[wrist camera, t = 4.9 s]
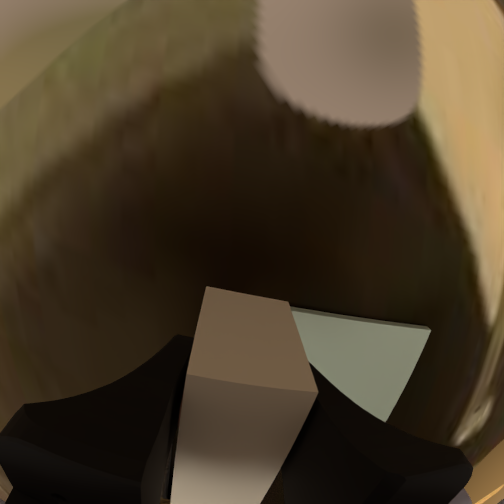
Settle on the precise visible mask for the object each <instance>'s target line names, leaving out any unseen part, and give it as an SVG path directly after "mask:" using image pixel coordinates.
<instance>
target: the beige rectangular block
mask: <svg viewBox="0 0 504 504" xmlns="http://www.w3.org/2000/svg"><path fill="white" fill-rule="evenodd" d="M317 394H318V389H317V386H316V383H315V380H314V377H313V374H312V371H311V368H310V365H309V362H308V359H307V356H306V353H305V350H304V347H303V344H302V341H301V338H300V335H299V332H298V329H297V326H296V323H295V320H294V317H293V314H292V311H291V308H290V305H289V303H288V302H287V301H281V300H276V299H270V298H265V297H259V296H254V295H249V294H244V293H238V292H233V291H228V290H223V289H218V288H213V287H208V286H206V290H205V294H204V298H203V302H202V307H201V311H200V315H199V320H198V324H197V328H196V333H195V337H194V342H193V346H192V351H191V355H190V360H189V365H188V369H187V374H186V381H185V386H184V391H183V395H182V400H181V405H180V412H179V420H178V427H179V431H178V439H177V447H176V456H175V464H174V473H173V482H172V492H171V502H170V504H260V503H261V501H262V499H263V498H264V496H265V494H266V493H267V491H268V489H269V487H270V486H271V484H272V482H273V481H274V479H275V477H276V475H277V473H278V472H279V470H280V468H281V466H282V464H283V463H284V461H285V459H286V457H287V455H288V453H289V451H290V450H291V448H292V446H293V444H294V442H295V440H296V438H297V436H298V434H299V432H300V430H301V428H302V426H303V424H304V422H305V420H306V418H307V416H308V414H309V412H310V409H311V407H312V405H313V403H314V401H315V399H316V397H317Z"/></svg>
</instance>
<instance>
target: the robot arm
mask: <svg viewBox="0 0 504 504" xmlns="http://www.w3.org/2000/svg"><path fill="white" fill-rule="evenodd" d="M193 342H194V338H192V337H187V336H182V335H176V336H174V337H173V338H172V339H171V340H170V341H169V342H168V343H167V344H166V345H165V346H164V347H163V348H162V349H161V350H160V351H159V352H158V353H156V354H155V355H154V356H153V357H152V358H150V359H149V360H148V361H147V362H145V363H144V364H142V365H141V366H139V367H138V368H137V369H135V370H134V371H132V372H131V373H129V374H127V375H126V376H124V377H122V378H120V379H118V380H117V381H115V382H113V383H111V384H108V385H106V386H103V387H101V388H98V389H96V390H93V391H90V392H87V393H84V394H81V395H77V396H73V397H69V398H65V399H60V400H55V401H47V402H39V403H30V404H24V405H23V406H22V407H21V408H20V409H19V410H18V411H17V412H16V413H15V414H14V416H13V417H12V418H11V419H10V421H9V422H8V423H7V425H6V426H5V428H4V429H3V430H2V432H1V433H0V464H1V466H2V468H3V470H4V472H5V474H6V475H7V477H8V479H9V481H10V483H11V484H12V486H13V489H12V491H11V493H10V495H9V497H8V498H7V500H6V502H5V501H3V500H1V499H0V504H160V499H161V493H162V487H163V481H164V475H165V469H166V464H167V460H168V456H169V453H170V449H171V446H172V443H173V440H174V436H175V433H176V430H177V427H178V420H179V412H180V405H181V400H182V395H183V391H184V386H185V381H186V374H187V369H188V365H189V360H190V355H191V351H192V346H193ZM308 362H309V361H308ZM309 365H310V368H311V371H312V374H313V377H314V380H315V383H316V386H317V389H318V394H317V397H316V399H315V401H314V403H313V405H312V407H311V409H310V412H309V414H308V416H307V418H306V420H305V422H304V424H303V426H302V428H301V430H300V432H299V434H298V436H297V438H296V440H295V442H294V444H293V446H292V448H291V450H290V451H289V453H288V455H287V457H286V459H285V461H284V463H283V464H282V466H281V469H282V476H283V486H284V500H285V504H472V501H471V499H470V497H469V495H468V494H467V492H466V491H465V489H464V487H465V485H466V484H467V483H468V481H469V479H470V477H471V475H472V471H473V467H472V465H471V464H470V462H469V461H468V459H467V458H466V457H465V455H464V454H463V452H462V451H461V450H460V449H457V448H453V447H449V446H445V445H441V444H437V443H433V442H430V441H427V440H424V439H421V438H418V437H416V436H413V435H411V434H408V433H406V432H404V431H401V430H399V429H397V428H395V427H393V426H391V425H389V424H387V423H385V422H384V421H382V420H380V419H378V418H377V417H375V416H374V415H372V414H371V413H369V412H367V411H366V410H364V409H363V408H361V407H360V406H359V405H357V404H356V403H355V402H353V401H352V400H351V399H350V398H348V397H347V396H346V395H345V394H343V393H342V392H341V391H340V390H339V389H338V388H336V387H335V386H334V385H333V384H332V383H331V382H330V381H329V380H328V379H327V378H326V377H324V376H323V375H322V374H321V373H320V372H319V371H318V370H317V369H316V368H315V367H314V366H313V365H312V364H311V363H310V362H309ZM498 504H504V499H503V500H501V501H500V502H499V503H498Z"/></svg>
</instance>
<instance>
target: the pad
mask: <svg viewBox="0 0 504 504" xmlns="http://www.w3.org/2000/svg"><path fill="white" fill-rule="evenodd" d="M290 308H291V311H292V314H293V317H294V320H295V323H296V326H297V329H298V332H299V335H300V338H301V341H302V344H303V347H304V350H305V353H306V356H307V359H308V361H309V362H310V363H311V364H312V365H313V366H314V367H315V368H316V369H317V370H318V371H319V372H320V373H321V374H322V375H323V376H324V377H326V378H327V379H328V380H329V381H330V382H331V383H332V384H333V385H334V386H335V387H336V388H338V389H339V390H340V391H341V392H342V393H343V394H345V395H346V396H347V397H348V398H350V399H351V400H352V401H353V402H355V403H356V404H357V405H359V406H360V407H361V408H363V409H364V410H366V411H367V412H369V413H371V414H372V415H374V416H375V417H377V418H378V419H380V420H382V421H384V422H386V420H387V418H388V417H389V415H390V413H391V411H392V410H393V408H394V406H395V404H396V402H397V401H398V399H399V397H400V395H401V393H402V391H403V389H404V387H405V386H406V384H407V382H408V380H409V378H410V376H411V374H412V371H413V369H414V367H415V365H416V363H417V361H418V359H419V357H420V354H421V352H422V350H423V348H424V346H425V343H426V341H427V339H428V336H429V334H430V332H431V330H430V329H429V328H428V327H427V326H420V325H412V324H404V323H396V322H389V321H381V320H374V319H367V318H360V317H353V316H347V315H340V314H334V313H327V312H321V311H315V310H309V309H302V308H297V307H291V306H290Z"/></svg>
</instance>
